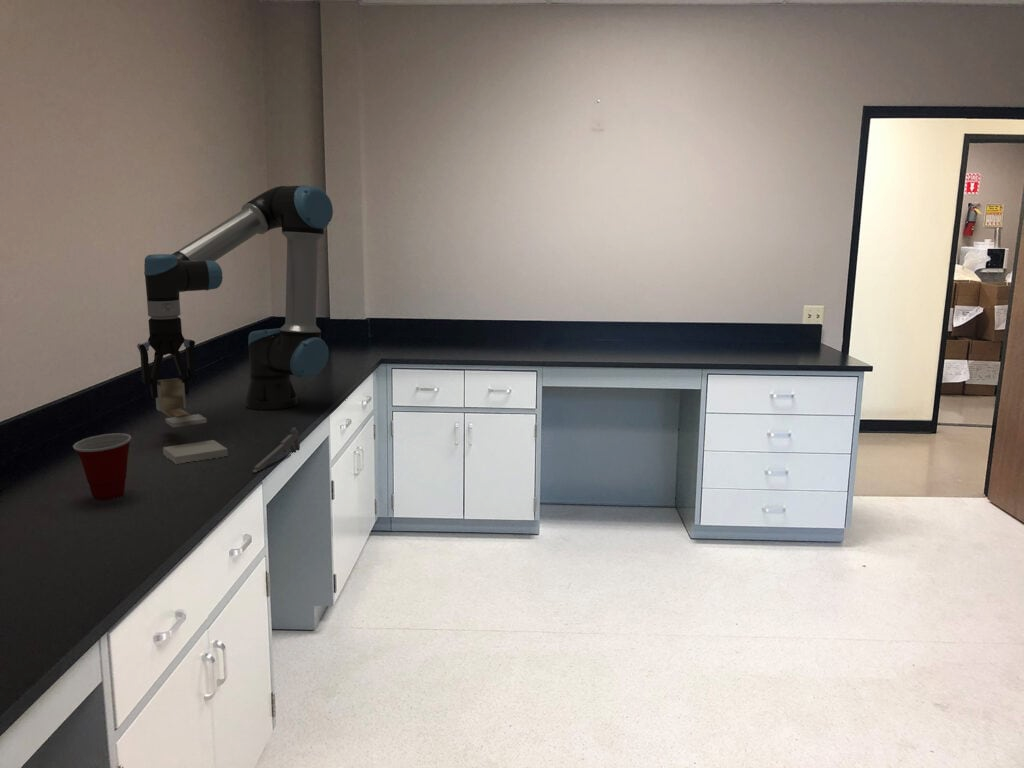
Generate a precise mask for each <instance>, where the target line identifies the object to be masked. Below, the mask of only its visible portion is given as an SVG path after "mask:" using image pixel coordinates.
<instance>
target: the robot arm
mask: <svg viewBox="0 0 1024 768" xmlns="http://www.w3.org/2000/svg"><path fill="white" fill-rule="evenodd" d="M333 215H334V210H333V203H332V200H331V198H330V197H329V196H328V194H327V193H326V192H325V190H323V189H321V188H320V187H317V186H313V185H307V184H306V185H280V186H274V187H273V188H270V189H268V190H266V191H265V192H262V193H261V194H259V195H257V196H256V197H254V198H252V199H251V200H249V201H247V202H245V204H243V205H242V206H241V210H240V211H239V212H237V213H235V214H234V215H233V216H231V217H229V218H228V219H226V220H225V221H223V222H220V224H218V225H217V226H216V225H215V227H213V228H211V229H210V230H209V231H207V232H206V233H204V234H202V235H201V236H199V237H197V238H196V239H194V240H193V241H191V242H189V243H188V244H187V245H184V246H183V247H181V248H180V249H178V250H177V251H175V252H173V253H171V254H169V253H168V254H167V253H165V254H164V253H163V254H162V253H159V254H156V253H155V254H148V255H146V256H145V258H144V264H143V265H144V268H143V269H144V273H143V274H144V277H145V278H144V280H145V281H144V282H145V291H146V303H147V304H146V306H147V316H148V317H150V318H149V319H148V332H149V337H148V339H147V341H144V342H143V343H137V346H136V347H137V349H138V352H139V353H140V368H141V369H140V370H141V382H142V383H144V384H146V385H149V386H150V395H151V397H152V398H153V399H155V407H156V410H157V411H159V412H161V411H163V409H162V396H161V385H159V384H157V383H158V380H159V377H160V374H161V373H160V371H161V367H162V362H163V358H164V356H166V355H171V356H172V358H173V360H174V364H175V367H176V369H177V373H178V375H179V377H180V380H182V390H183V405H184V408H183V409H187V403H186V395H189V393H190V390H189V382H190V381H191V380H194V379H195V378H196V366H195V354H194V349H195V346H196V345H195V344H196V341H195V340H193V339H188V338H185V337H184V336H183V331H182V330H183V329H182V318H180V317H179V316H181V315H182V313H181V304H180V293H184V292H197V291H199V292H200V291H207V292H208V291H211V290H216V289H218V288H219V287H221V285H222V284H223V283H222V282H223V270H222V267H221V266H220V264H219V263H218V262H217V261H218V260H219V259H221V258H222V257H223V256H225V255H227V254H228V253H230V252H231V251H232V250H235V249H236V248H238V247H239V246H241V245H242V244H243V243H245V242H246V241H248V240H250V239H251V238H253V237H254V236H256V235H264V234H265V233H267V232H268V231H270V230H274V229H279V228H281V234H282V235H283V236H284V237H285V238H286V272H285V273H286V274H285V275H286V276H285V277H286V280H285V283H286V284H285V313H284V315H285V320H284V325H282V326H281V327H278V328H269V329H259V330H254V331H253V330H252V331H251V332H250V333H249V334H248V341H247V346H248V359H249V361H248V362H249V374H250V381H249V385H248V389H247V391H246V392H247V393H246V396H245V398H244V399H245V400H244V401H245V407H246V408H248V409H252V410H261V411H263V410H265V411H269V410H271V411H272V410H273V411H274V410H281V409H288V408H291V407H295V406H297V405H298V395H297V393H296V390H295V387H294V384H293V382H292V379H291V376H295V377H298V378H311V377H315V376H317V375H319V374H320V373H321V372H322V370H324V369H325V367H326V365H327V363H328V361H329V353H330V352H329V346H328V345H327V344H326V342H325V340H323V339H322V338H321V337H322V330H321V329H320V328H319V327H318V326H317V298H318V297H317V295H318V294H317V292H318V291H317V289H318V257H319V256H318V252H319V241H320V240H321V238H323V237H324V236H325V235H324V233H325V230H324V229H325V228H326V227H327V226H328V225H329V224H330V222H331V221H332V219H333ZM182 345H183V347H185V358H186V359H185V360H186V368H187V369H186V368H185V365H184V362H183V360H182V357H181V353H180V348H181V347H182ZM150 347H151V348H152V349H153V351H154V354H153V364H152V366H151V367H152V368H151V373H150V366H149V363H150V362H149V354H148V353H149V351H150ZM186 370H187V371H186Z"/></svg>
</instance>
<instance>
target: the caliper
mask: <svg viewBox="0 0 1024 768" xmlns="http://www.w3.org/2000/svg"><path fill="white" fill-rule="evenodd" d="M289 433H290V434H288V435H287V436H286V437H284V438H283V440H281V441H280V444H279V445H278V446H277V447H275V449H273V450H272V451H271V452H270V453H269V454H267V455H266V456H265V457H264V458H262V459H261V461H260V462H258V463H257V464H255V466H254V467H253V470H252V471H253V472H257V471H260V470H262V469H263V470H265V468H267V466H269V465H270V464H271V463H272V462H273V461H274V460H275V459H277V457H279V456H280V455H281V454H282V453H287V452H288V451H289V450H290V452H291V453H297V451H300V450H301V447H300V446H301V444H300V435H299V431H298V430H297V427H292V428H291V429H289ZM263 470H262V471H263ZM260 472H261V471H260ZM257 473H258V472H257Z"/></svg>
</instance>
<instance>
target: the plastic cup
mask: <svg viewBox="0 0 1024 768" xmlns="http://www.w3.org/2000/svg"><path fill="white" fill-rule="evenodd" d="M131 440H132V436H131V435H130V434H127V433H117V432H116V433H114V432H113V433H105V434H99V435H98V434H97V435H94V436H89V437H86V438H83V439H81V440H78V441H77V442H74V444H73V445H72V448H73V449H74V451H76V453H77V455H78V457H79V459H80V461H81V463H82V464H81V465H82V467H83V471H84V474H85V476H86V480H87V483H88V485H89V486H88V487H89V490H90V492H91V496H92V498H93V499H94V500H96V501H109V500H108V499H110V500H114V499H113V498H115V499H118V498H117V497H119V498H120V496H121V497H123V496H124V493H125V487H126V479H127V471H128V470H127V469H128V458H129V450H130V449H129V448H130V443H131Z"/></svg>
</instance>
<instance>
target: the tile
mask: <svg viewBox="0 0 1024 768" xmlns="http://www.w3.org/2000/svg"><path fill="white" fill-rule="evenodd" d="M162 451H163V456H164V455H165V456H166V457H165V456H164V457H165V458H167V459H168V458H169V459H170V460H172V461H173V462H174V463H175V464H179V463H185V462H191V461H197V462H200V461H199V460H203V461H205V460H204V459H209V460H213V459H212V458H216V459H220V458H219V457H222V458H225V457H224V456H229V454H228V452H229V451H228V448H227V447H225V446H223V445H222V444H220V443H219V442H217V441H216V440H215V439H211V440H203V441H198V442H192V443H191V442H190V443H183V444H175V445H171V446H170V445H169V446H163V447H162ZM169 459H168V460H169ZM170 460H169V461H170ZM172 461H171V462H172ZM173 462H172V463H173ZM174 463H173V464H174ZM191 463H192V462H191ZM175 464H174V465H175ZM185 464H186V463H185ZM179 465H180V464H179Z"/></svg>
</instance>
